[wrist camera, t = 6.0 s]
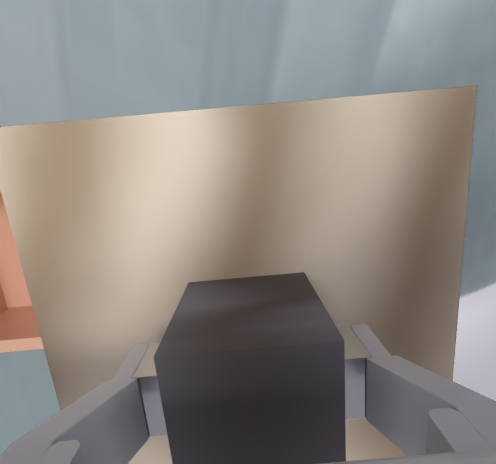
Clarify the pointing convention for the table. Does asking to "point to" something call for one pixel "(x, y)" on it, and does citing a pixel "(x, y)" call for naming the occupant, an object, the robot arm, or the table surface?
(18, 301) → the open square planter box
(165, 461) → the birch lid
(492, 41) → the table surface
